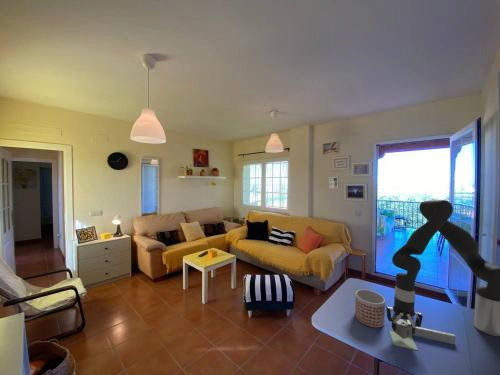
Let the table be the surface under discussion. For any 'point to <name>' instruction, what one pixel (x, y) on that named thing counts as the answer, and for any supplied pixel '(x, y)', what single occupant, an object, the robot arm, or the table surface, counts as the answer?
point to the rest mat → (402, 341)
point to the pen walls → (433, 334)
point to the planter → (370, 308)
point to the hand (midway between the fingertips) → (402, 331)
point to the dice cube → (403, 329)
